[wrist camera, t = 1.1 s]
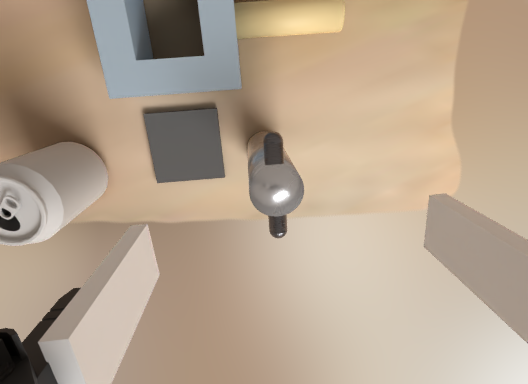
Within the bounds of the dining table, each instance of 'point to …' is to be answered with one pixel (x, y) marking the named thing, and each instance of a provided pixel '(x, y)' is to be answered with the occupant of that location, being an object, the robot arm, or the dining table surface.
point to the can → (47, 191)
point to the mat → (185, 145)
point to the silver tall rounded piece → (273, 180)
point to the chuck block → (213, 36)
